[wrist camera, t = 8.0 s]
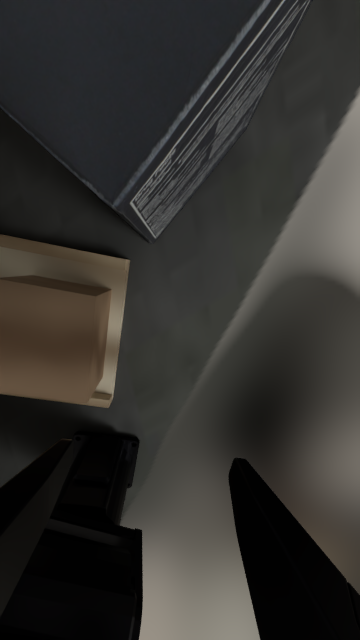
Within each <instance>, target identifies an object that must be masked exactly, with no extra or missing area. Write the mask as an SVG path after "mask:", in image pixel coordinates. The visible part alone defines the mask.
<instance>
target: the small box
mask: <svg viewBox="0 0 360 640" xmlns="http://www.w3.org/2000/svg"><path fill="white" fill-rule="evenodd" d="M312 1H313V0H0V108H1V109H2V110H3V111H4V112H5V113H6V114H7V115H8V116H10V117H11V118H12V119H13V120H14V121H15V122H16V123H17V124H18V125H19V126H20V127H21V128H23V129H24V130H25V131H26V132H27V133H28V134H29V135H30V136H31V137H32V138H34V139H35V140H36V141H37V142H38V143H39V144H40V145H41V146H42V147H43V148H44V149H45V150H47V151H48V152H49V153H50V154H51V155H52V156H53V157H54V158H55V159H57V160H58V161H59V162H60V163H61V164H62V165H63V166H64V167H65V168H66V169H68V170H69V171H70V172H71V173H72V174H73V175H74V176H75V177H77V178H78V179H79V180H80V181H81V182H82V183H84V184H85V185H86V186H87V187H88V188H89V189H90V190H92V191H93V192H94V193H95V194H96V195H97V196H98V197H99V198H100V199H101V200H102V201H103V202H105V203H106V204H107V205H108V206H110V207H111V208H112V209H113V210H114V211H115V212H116V213H117V214H118V215H119V216H120V217H121V218H123V219H124V220H125V221H126V222H127V223H128V224H129V225H130V226H131V227H132V228H133V229H134V230H135V231H137V232H138V233H139V234H140V235H141V236H142V237H143V238H144V239H145V240H146V241H147V242H149V243H150V244H153V243H154V242H155V241H156V239H157V238H158V237H159V236H160V235H161V234H162V232H163V231H164V230H165V229H166V228H167V226H168V225H169V224H170V223H171V221H172V220H173V219H174V218H175V216H176V215H177V214H178V213H179V212H180V210H182V209H183V207H184V205H185V204H186V203H187V202H188V201H189V199H190V198H191V197H192V196H193V194H194V193H195V192H196V191H197V189H198V188H199V187H200V186H201V185H202V183H203V182H204V181H205V180H206V179H207V178H208V177H209V175H210V174H211V172H213V170H214V169H215V167H216V166H217V165H218V164H219V162H220V161H221V160H222V159H223V158H224V156H225V155H226V154H227V153H228V151H229V150H230V149H231V147H232V146H233V145H234V144H235V142H236V141H237V140H238V139H239V137H240V136H241V135H242V133H243V132H244V131H245V130H246V129H247V127H248V125H249V123H250V120H251V119H252V117H253V115H254V113H255V111H256V108H257V106H258V104H259V102H260V100H261V98H262V96H263V94H264V92H265V90H266V88H267V87H268V85H269V82H270V80H271V78H272V77H273V75H274V73H275V71H276V69H277V67H278V65H279V63H280V61H281V59H282V57H283V55H284V53H285V51H286V49H287V48H288V46H289V45H290V43H291V42H292V40H293V38H294V36H295V34H296V32H297V30H298V28H299V26H300V24H301V22H302V21H303V19H304V17H305V15H306V13H307V11H308V9H309V7H310V5H311V3H312Z"/></svg>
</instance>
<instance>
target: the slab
mask: <svg viewBox="0 0 360 640" xmlns="http://www.w3.org/2000/svg"><path fill="white" fill-rule="evenodd" d="M111 294H112V290H111V289H106V288H101V287H95V286H90V285H84V284H79V283H73V282H68V281H63V280H57V279H52V278H46V277H41V276H35V275H27V276H14V277H1V278H0V392H2V393H10V394H18V395H26V396H33V397H41V398H49V399H56V400H64V401H72V402H80V403H88V401H89V399H90V398H91V396H92V394H93V393H94V391H95V389H96V388H97V386H98V384H99V383H100V381H101V379H102V378H103V371H104V361H105V351H106V342H107V332H108V322H109V313H110V303H111Z"/></svg>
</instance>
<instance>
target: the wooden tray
mask: <svg viewBox="0 0 360 640" xmlns="http://www.w3.org/2000/svg"><path fill="white" fill-rule="evenodd" d="M129 264H130V260H127V259H122V258H117V257H112V256H107V255H102V254H97V253H92V252H87V251H82V250H77V249H72V248H67V247H62V246H57V245H52V244H47V243H42V242H37V241H32V240H27V239H22V238H17V237H12V236H7V235H2V234H0V278H1V277H14V276H27V275H35V276H41V277H46V278H52V279H57V280H63V281H68V282H73V283H79V284H84V285H90V286H95V287H101V288H106V289H111V290H112V294H111V303H110V313H109V322H108V332H107V342H106V351H105V361H104V371H103V378H102V379H101V381H100V383H99V384H98V386H97V388H96V389H95V391H94V393H93V394H92V396H91V398H90V399H89V401H88V403H80V402H72V401H64V400H56V399H49V398H41V397H33V396H26V395H18V394H10V393H2V392H0V394H4V395H12V396H20V397H28V398H35V399H43V400H51V401H59V402H67V403H74V404H82V405H90V406H98V407H105V408H109V406H110V404H111V401H112V399H113V394H114V386H115V378H116V370H117V362H118V353H119V345H120V337H121V329H122V321H123V313H124V305H125V296H126V288H127V280H128V272H129Z"/></svg>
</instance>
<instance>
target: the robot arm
mask: <svg viewBox="0 0 360 640" xmlns="http://www.w3.org/2000/svg"><path fill="white" fill-rule="evenodd" d="M134 443H135V444H134ZM138 448H139V439H138V438H133V437H125V436H116V435H108V434H99V433H90V432H82V431H78V432H76V433H75V435H74V436H73V440H71V439H61V440H59V441H58V442H56V443H55V444H54V445H53V446H51V447H50V448H49V449H48V450H46V451H45V452H44V453H43V454H41V455H40V456H39V457H38V458H36V459H35V460H34V461H33V462H31V463H30V464H29V465H28V466H26V467H25V468H24V469H23V470H21V471H20V472H19V473H18V474H16V475H15V476H14V477H13V478H11V479H10V480H9V481H8V482H6V483H5V484H4V485H3V486H1V487H0V640H139V634H140V627H141V617H142V602H143V586H142V583H143V581H142V530H140V529H136V528H135V530H134V529H130V528H126V527H123V526H120V522H121V517H122V512H123V507H124V502H125V496H126V491H127V488H130V487H131V486H132V482H133V476H134V471H135V465H136V459H137V454H138ZM70 466H71V468H70ZM69 469H70V470H69ZM68 471H69V472H68ZM229 486H230V493H231V500H232V506H233V514H234V520H235V527H236V533H237V538H238V543H239V547H240V552H241V556H242V561H243V565H244V569H245V574H246V578H247V583H248V587H249V591H250V596H251V600H252V604H253V609H254V614H255V618H256V622H257V626H258V631H259V635H260V640H360V595H359V594H358V593H357V591H356V590H355V589H354V588H353V587H352V586H351V584H350V583H348V582H347V581H346V578H345V577H344V576H343V575H342V574H341V572H340V571H339V570H338V569H337V568H336V566H335V565H334V564H333V563H332V562H331V561H330V559H329V558H328V557H327V556H326V554H325V553H324V552H323V551H322V550H321V548H320V547H319V546H318V545H317V544H316V542H315V541H314V540H313V539H312V538H311V536H310V535H309V534H308V533H307V532H306V530H305V529H304V528H303V527H302V526H301V524H300V523H299V522H298V521H297V520H296V518H295V517H294V516H293V515H292V514H291V512H290V511H289V510H288V509H287V508H286V507H285V505H284V504H283V503H282V502H281V501H280V499H279V498H278V497H277V496H276V495H275V493H274V492H273V491H272V490H271V489H270V487H269V486H268V485H267V484H266V483H265V481H264V480H263V479H262V478H261V477H260V475H259V474H258V473H257V472H256V471H255V469H254V468H253V467H252V466H251V465H250V464H249V462H248V461H247V460H246V459H244V458H234V460H233V463H232V466H231V469H230V472H229Z"/></svg>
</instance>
